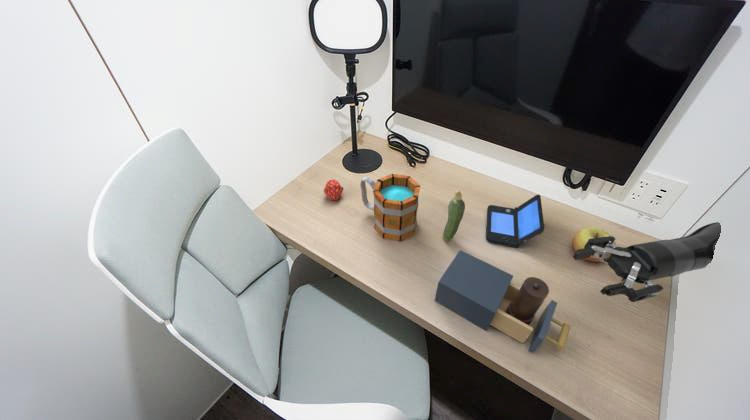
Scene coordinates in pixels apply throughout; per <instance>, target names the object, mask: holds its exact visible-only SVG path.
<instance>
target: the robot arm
mask: <svg viewBox="0 0 750 420" xmlns="http://www.w3.org/2000/svg"><path fill="white" fill-rule="evenodd" d="M719 222H720V221H716V222H711V223H708V224H705V225H703V226H700V227H699V228H697V229H695V230H693V231H692V232H690V233H689V234H687V235H685V236H682V237H677V238H671V239H659V240H654V241H649V242H647V241H646V242H643V243H637V244H632V245H629V246H625V247H622V246H618V245H617V243H616V237H614V236H612V235H611V236H608V237H600V238H592V239H589V240H588V242H587V243H586V244H585V246H584V248H583V249H578V250H577V251H576V252H575V251H574V254H573V256H572V258H573V260H574V261H579V260H584V259H585V258H590V257H593V258H596V259H598V260H599V261H600V262H599V263H604V264H607V266H608V267H609V268H610V269H612V270H613V272H614V273H615V275H616V276H617V277H620V278H621V281H620V282H618V283H613V284H608V285H605V286H604V287H602V289H601V290H600V291H599V292H600V293H601V295H603V296H604V295H606V296H607V297H615V296H618V295H622V296H626V297H627V299H628V301H629V302H631V303H637V302H640V301H643V300H647V299H651V298H653V297H656V296H657V295H658V294H659V293H661V292H662V291H663V290H664V287H663V286H662V285H661V284H655V283H654V282H653V281H654V280H659V279H660V280H661V279H664V278H672V277H676V276H678V275H682V274H684V273H687V272H692V271H697V270H701V269H705V268H707V267H706V266H707V265H708V264H709V263H711V261H712V259H713V255H714V250H715V245H716V243H717V241H718V239H719V237H720V233H721V225H720V223H719ZM614 241H615V243H614ZM595 252H599V253H600V254H598V253H595ZM608 254H610V257H609V258H606V256H607V255H608ZM634 283H637V284H640V285H644V286H643V287H642V288H639V289H635V288H634V287H633V286H634Z"/></svg>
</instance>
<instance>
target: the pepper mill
mask: <svg viewBox="0 0 750 420" xmlns="http://www.w3.org/2000/svg"><path fill="white" fill-rule="evenodd" d="M520 287H521V288H520V290H519V291H518V293H517V295H516V297H515V299H514V300H512V301H511V302H510V303H509V305H508V307H507V309H506V311H505V313H507V314H509V315H510V316H512V317H514V318H516V319H518V320H520V321H521V322H523V323H525V324H527V325H530V323H531V322H532V323H533V321H534V319H535V318H536V313H537V312H538V311H539V309H540V308H541V306H542V305H543V303H544V302H545V299H546V298H547V297H548V295H549V294H550V289H549V285H548V284H547V283H546V282H545V281H544V280H542V279H541V278H539V277H535V276H529V277H527V278H526V279H525V280H524V281H523V282H522V284H521V286H520ZM543 301H544V302H543ZM542 302H543V303H542ZM541 304H542V305H541ZM540 305H541V306H540ZM539 307H540V308H539ZM538 308H539V309H538ZM537 310H538V311H537ZM536 311H537V312H536ZM535 312H536V313H535ZM532 320H533V321H532Z"/></svg>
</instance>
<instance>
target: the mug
mask: <svg viewBox="0 0 750 420" xmlns="http://www.w3.org/2000/svg"><path fill="white" fill-rule="evenodd" d="M366 183H367V184H368V185H369V186H370V188H371V189H372V193H373V199H374V200H373V204H372V203H370V201H369V199H368V192H367V191H368V190H367V185H366ZM359 185H360V191H361V200H362V203H363V206H364V207H365V208H367V209H368V210H372V211H373V216H374V226H373V228H374V230H375V231H376V232H377V234H378V235H379V236H380V237H381V238H382V239H383V240H388V241H393V242H402V241H405V240H407V239H409V238H411V237H413V236H415V233H416V227H417V223H418V222H417V215H418V210H419V197H420V191H421V185H420V184H419V183H418V182H417V181H416V180H415V179H414V178H413V177H411V176H410V175H404V174H397V173H391V174H388V175H385V176H383V177H380V178H378V179H376V181H375V180H374V179H373V178H371V177H370V176H363V177H362V178H361V180H360V182H359Z"/></svg>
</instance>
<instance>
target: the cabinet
mask: <svg viewBox="0 0 750 420" xmlns="http://www.w3.org/2000/svg"><path fill="white" fill-rule="evenodd" d="M446 268H447V269H446V270H445V271H444V272H443V274H442V276H441V277H440V278H439V280H438V284H437V287H436V290H435V296H434V302H436V303H437V304H439V305H441V306H443V307H444V308H446V309H448V310H450V311H451V312H453V313H455V314H456V315H458V316H460V317H461V318H463V319H465V320H467V322H470V323H472V324H473V325H475V326H477V327H478V328H480V329H482V330H484V331H485V332H487V331H488V329H489V327H490V326H491V325H490V323H491V321H492V319H493V317H494V315H495V313H496V311H497V309H498V307H499V305H500V303H501V301H502V299H503V297H504V295H505V293H506V291H507V289H508V286H509V284H510V282H511V283H512V280H513V279H514V275H513V274H510V272H507V271H505V270H503V269H501V268H498V267H497V266H494V265H492V264H490V263H488V262H486V261H484V260H482V259H480V258H478V257H476V256H474V255H472V254H470V253H468V252H466V251H464V250H461V249H459V251H458V252H457V253H456V255H455V256H454V258H453V259H452V261H451V262H450V264H449V265H448V267H446Z"/></svg>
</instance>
